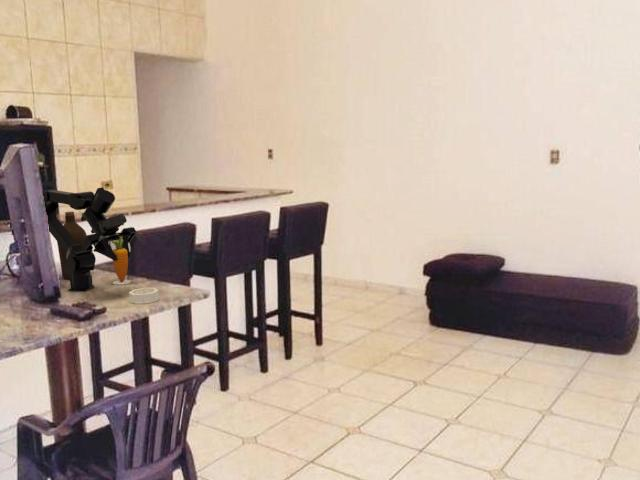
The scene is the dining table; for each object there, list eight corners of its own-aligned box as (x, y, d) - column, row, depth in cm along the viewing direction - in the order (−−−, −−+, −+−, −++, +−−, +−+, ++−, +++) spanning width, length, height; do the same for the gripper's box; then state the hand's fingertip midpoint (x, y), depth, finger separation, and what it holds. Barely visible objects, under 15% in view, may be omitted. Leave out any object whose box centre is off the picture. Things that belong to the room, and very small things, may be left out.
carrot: (119, 285, 200) (116, 239, 197) (111, 282, 203) (107, 237, 200) (132, 282, 204) (129, 237, 201) (124, 279, 207) (121, 235, 204)
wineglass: (126, 285, 219) (122, 235, 216) (105, 285, 221) (100, 235, 218) (137, 280, 227) (133, 231, 224) (117, 279, 229) (113, 231, 226)
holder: (125, 303, 196) (124, 294, 196) (137, 296, 205) (136, 287, 204) (151, 304, 195) (151, 295, 194) (163, 296, 203) (162, 287, 203)
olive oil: (69, 282, 227) (62, 214, 223) (55, 278, 234) (48, 212, 230) (96, 276, 235) (90, 211, 230) (82, 272, 242) (76, 209, 237)
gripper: (84, 210, 193) (109, 248, 189) (131, 203, 208) (156, 238, 205) (70, 232, 199) (95, 270, 195) (117, 224, 214) (141, 259, 210)
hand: (123, 258), depth 201 cm, fingers closed on carrot, 5 cm apart
